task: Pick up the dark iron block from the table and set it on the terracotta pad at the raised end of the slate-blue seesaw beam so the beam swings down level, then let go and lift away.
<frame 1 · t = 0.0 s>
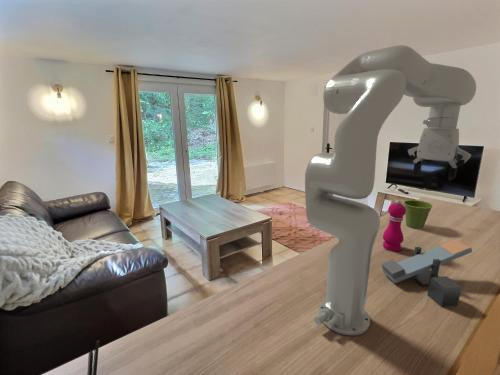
hand: (432, 177, 87), 31 cm above the table, tool pointing down, fingers open, 9 cm apart
beam: (425, 258, 84), point 7 cm above the table, hinge at -20.0°
pepper mill: (391, 248, 105), on the table
stand: (423, 277, 86), on the table
iron block: (442, 300, 75), on the table
plant pot: (414, 226, 126), on the table
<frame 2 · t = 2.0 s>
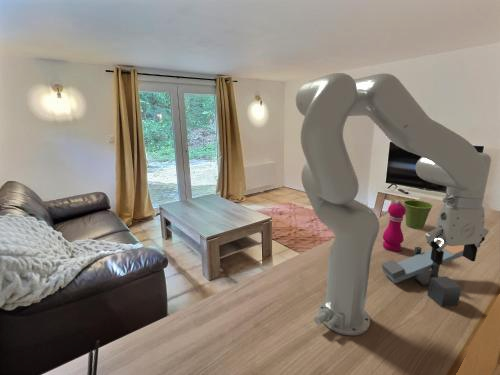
hand: (452, 260, 72), 13 cm above the table, tool pointing down, fingers open, 9 cm apart
nothing on the table moved.
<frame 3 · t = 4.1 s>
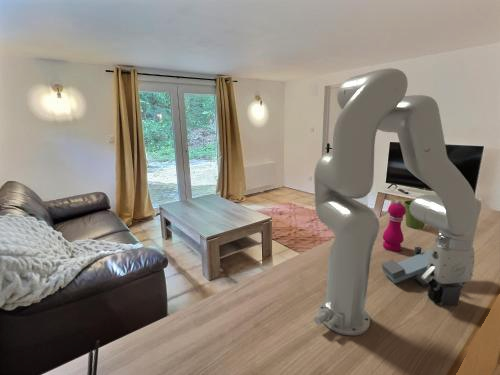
hand: (442, 298, 75), 0 cm above the table, tool pointing down, fingers closed on iron block, 5 cm apart
iron block: (442, 300, 75), on the table, touching gripper
everything else where it was.
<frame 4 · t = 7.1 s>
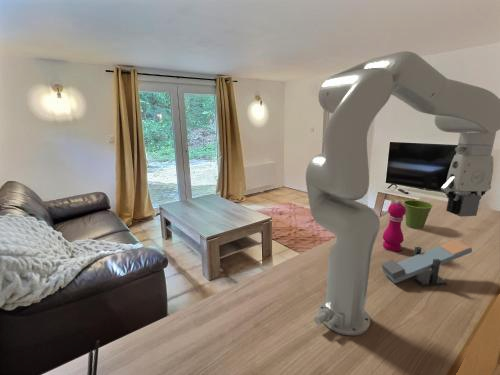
hand: (461, 211, 78), 23 cm above the table, tool pointing down, fingers closed on iron block, 5 cm apart
iron block: (460, 213, 78), point 23 cm above the table, touching gripper
everything else where it was.
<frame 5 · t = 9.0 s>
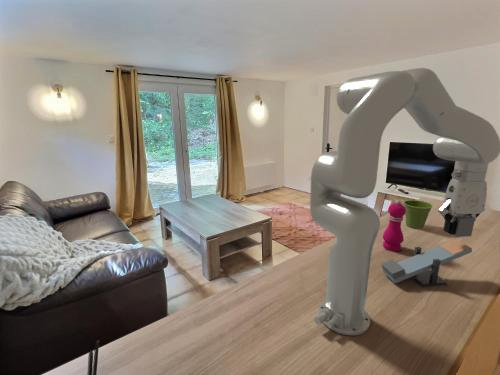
hand: (456, 231, 83), 15 cm above the table, tool pointing down, fingers closed on iron block, 5 cm apart
iron block: (456, 233, 83), point 15 cm above the table, touching gripper
everything else where it was.
when the fingers open (12 cm above the table, at t = 10.4 s): iron block drops 2 cm, resting on beam.
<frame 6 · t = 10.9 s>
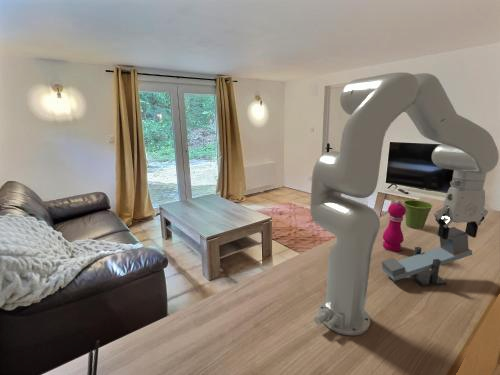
hand: (456, 236, 84), 14 cm above the table, tool pointing down, fingers open, 9 cm apart
beam: (425, 258, 84), point 7 cm above the table, hinge at -15.9°, touching iron block
iron block: (454, 248, 84), point 10 cm above the table, tilted 16°, touching beam
everything else where it was.
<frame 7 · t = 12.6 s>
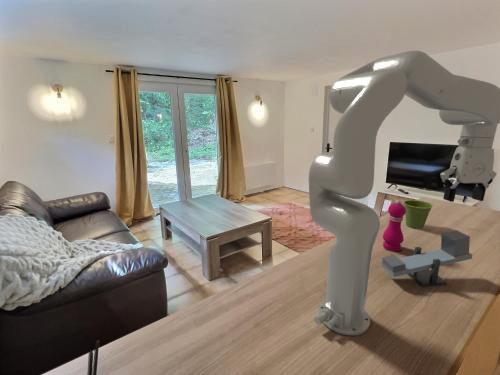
hand: (462, 200, 80), 26 cm above the table, tool pointing down, fingers open, 9 cm apart
beam: (426, 257, 84), point 7 cm above the table, hinge at -9.6°, touching iron block
iron block: (454, 251, 85), point 9 cm above the table, tilted 10°, touching beam
everything else where it was.
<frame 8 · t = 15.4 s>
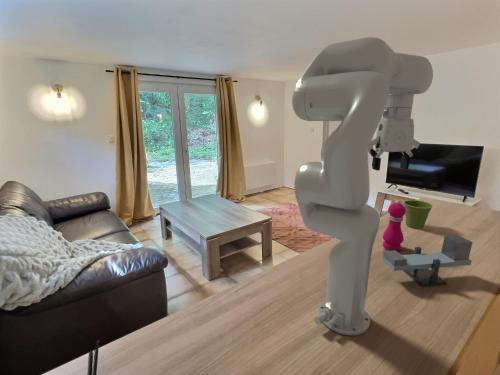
hand: (389, 169, 85), 34 cm above the table, tool pointing down, fingers open, 9 cm apart
beam: (426, 257, 84), point 7 cm above the table, hinge at 0.2°, touching iron block
iron block: (454, 256, 85), point 7 cm above the table, touching beam
everything else where it was.
at the end: beam at +0° (first picture: -20°); iron block touching beam; iron block tilted 0° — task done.
